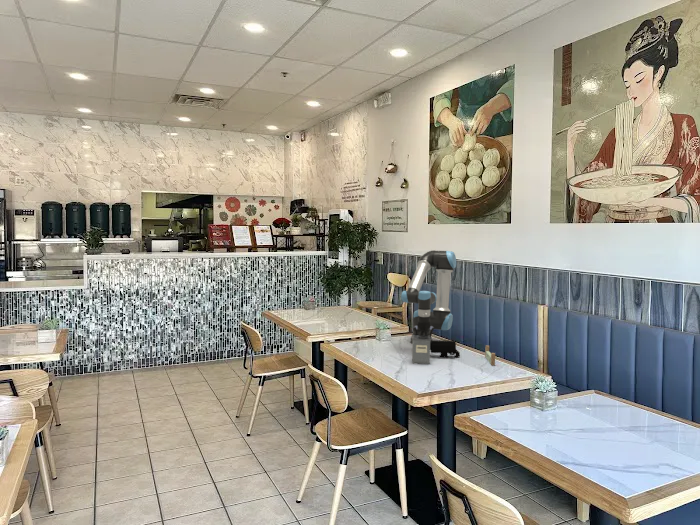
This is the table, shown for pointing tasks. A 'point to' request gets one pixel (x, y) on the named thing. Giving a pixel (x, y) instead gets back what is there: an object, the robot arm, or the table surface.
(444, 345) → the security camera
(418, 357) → the box
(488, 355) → the backstop
